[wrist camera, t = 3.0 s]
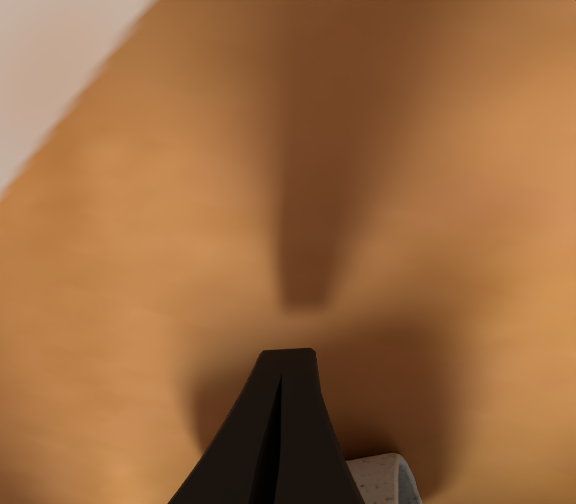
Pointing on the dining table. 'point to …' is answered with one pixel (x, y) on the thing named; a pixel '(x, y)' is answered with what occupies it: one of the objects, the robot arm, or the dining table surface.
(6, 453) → the dining table surface
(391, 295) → the dining table surface
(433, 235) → the dining table surface
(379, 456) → the ceramic mug
